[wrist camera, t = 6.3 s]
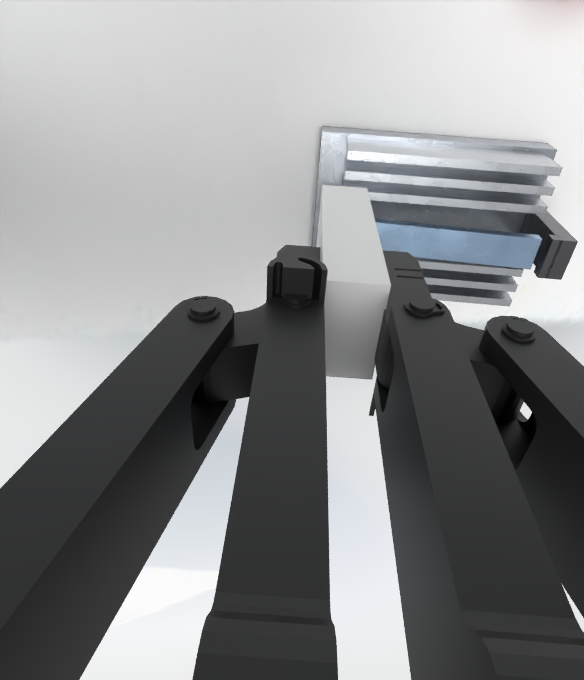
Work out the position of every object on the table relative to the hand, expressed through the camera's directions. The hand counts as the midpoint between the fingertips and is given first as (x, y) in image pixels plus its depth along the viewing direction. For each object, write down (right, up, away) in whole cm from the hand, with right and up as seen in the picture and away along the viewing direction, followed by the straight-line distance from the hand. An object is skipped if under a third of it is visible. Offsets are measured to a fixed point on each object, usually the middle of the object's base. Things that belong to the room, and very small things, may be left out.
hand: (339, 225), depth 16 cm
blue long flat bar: (+9, +4, +20) cm, 22 cm away
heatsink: (+9, +8, +25) cm, 28 cm away
